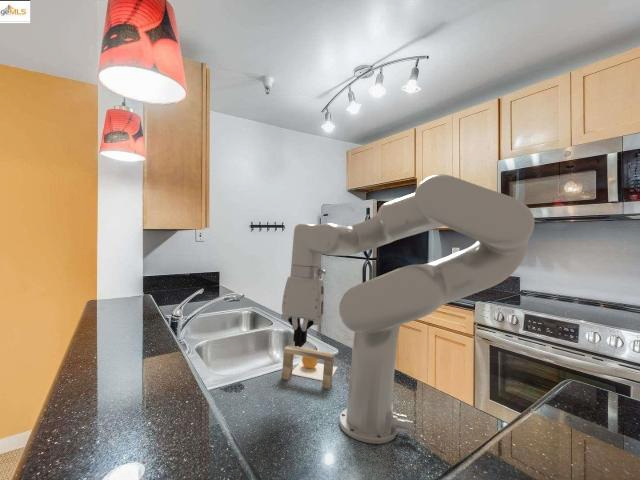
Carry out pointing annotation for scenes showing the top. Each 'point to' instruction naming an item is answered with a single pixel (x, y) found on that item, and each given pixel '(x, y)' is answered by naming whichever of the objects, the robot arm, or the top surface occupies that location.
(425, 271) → the robot arm
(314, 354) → the bridge
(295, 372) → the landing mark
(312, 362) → the ball
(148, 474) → the top surface
